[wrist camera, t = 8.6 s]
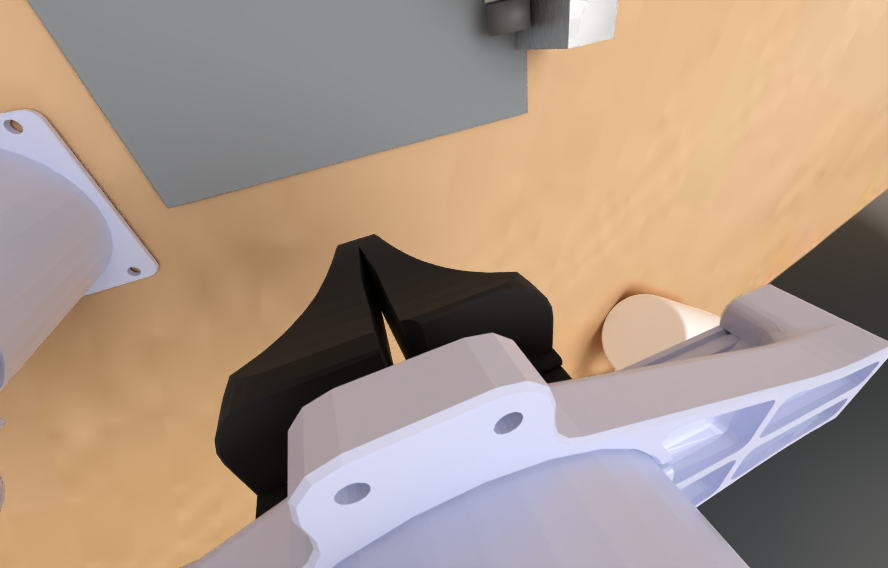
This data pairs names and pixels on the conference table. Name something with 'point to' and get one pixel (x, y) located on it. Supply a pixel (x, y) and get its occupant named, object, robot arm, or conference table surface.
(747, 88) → the conference table surface
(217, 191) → the mat
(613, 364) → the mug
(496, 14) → the block
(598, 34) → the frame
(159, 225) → the conference table surface
